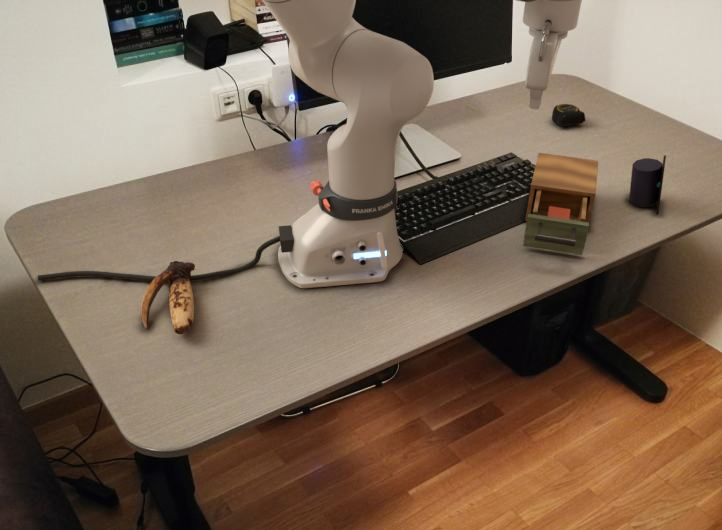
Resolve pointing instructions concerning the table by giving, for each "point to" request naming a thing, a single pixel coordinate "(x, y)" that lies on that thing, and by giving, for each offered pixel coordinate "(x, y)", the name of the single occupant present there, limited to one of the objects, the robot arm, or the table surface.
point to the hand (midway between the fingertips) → (537, 96)
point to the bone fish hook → (173, 296)
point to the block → (559, 212)
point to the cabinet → (564, 178)
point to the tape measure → (567, 115)
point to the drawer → (557, 223)
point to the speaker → (646, 182)
